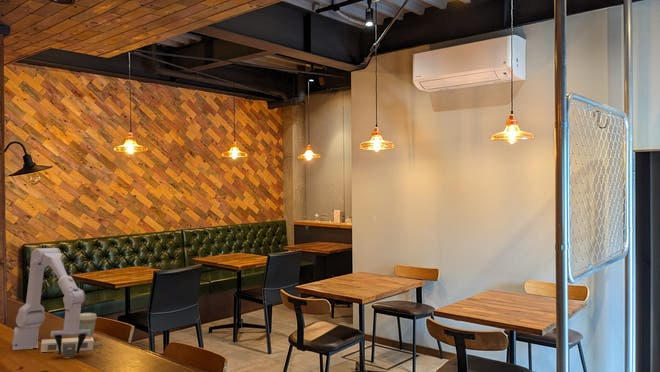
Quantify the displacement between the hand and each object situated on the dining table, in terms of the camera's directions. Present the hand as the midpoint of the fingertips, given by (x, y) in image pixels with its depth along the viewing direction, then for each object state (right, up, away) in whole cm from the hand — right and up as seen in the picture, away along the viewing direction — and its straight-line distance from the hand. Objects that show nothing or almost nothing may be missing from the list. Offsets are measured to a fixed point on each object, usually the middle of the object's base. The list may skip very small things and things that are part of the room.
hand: (68, 353), depth 204 cm
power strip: (-5, -2, +11) cm, 13 cm away
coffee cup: (-7, -3, +27) cm, 29 cm away
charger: (0, -2, 0) cm, 2 cm away
